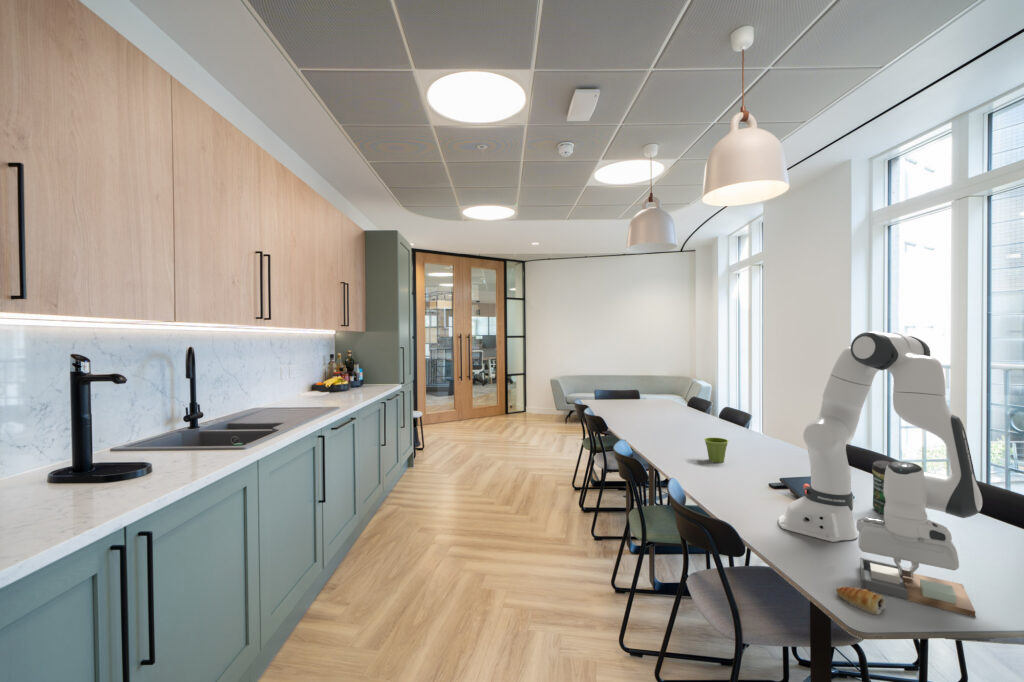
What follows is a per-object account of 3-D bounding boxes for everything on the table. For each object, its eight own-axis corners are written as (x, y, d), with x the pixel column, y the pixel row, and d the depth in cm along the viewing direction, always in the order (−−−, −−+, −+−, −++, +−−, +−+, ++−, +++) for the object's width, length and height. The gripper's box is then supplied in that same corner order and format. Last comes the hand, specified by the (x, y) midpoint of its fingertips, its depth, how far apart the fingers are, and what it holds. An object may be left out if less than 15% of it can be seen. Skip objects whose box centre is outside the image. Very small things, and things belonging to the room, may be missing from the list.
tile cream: (871, 578, 123) (871, 570, 123) (870, 569, 127) (869, 562, 127) (900, 584, 119) (900, 577, 119) (897, 576, 123) (897, 568, 123)
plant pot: (701, 462, 237) (701, 440, 237) (708, 456, 246) (708, 436, 246) (725, 465, 229) (725, 443, 229) (731, 460, 238) (731, 439, 238)
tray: (862, 589, 118) (862, 579, 118) (860, 566, 129) (860, 557, 129) (907, 600, 113) (907, 590, 113) (901, 575, 124) (901, 566, 124)
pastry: (832, 599, 115) (832, 584, 114) (843, 590, 118) (843, 576, 118) (877, 617, 107) (877, 601, 107) (888, 607, 111) (887, 592, 110)
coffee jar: (868, 507, 172) (867, 458, 172) (892, 508, 171) (891, 459, 170) (884, 517, 163) (883, 465, 162) (909, 518, 161) (908, 466, 161)
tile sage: (922, 596, 112) (922, 588, 112) (919, 586, 116) (919, 579, 116) (956, 604, 109) (956, 595, 109) (952, 594, 113) (951, 586, 113)
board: (907, 600, 113) (907, 595, 113) (901, 575, 124) (901, 570, 124) (975, 616, 106) (975, 611, 106) (962, 588, 117) (962, 584, 117)
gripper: (856, 520, 124) (857, 569, 124) (960, 538, 112) (961, 593, 112) (856, 512, 129) (856, 560, 129) (954, 528, 117) (955, 581, 117)
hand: (906, 575), depth 121 cm, fingers closed
